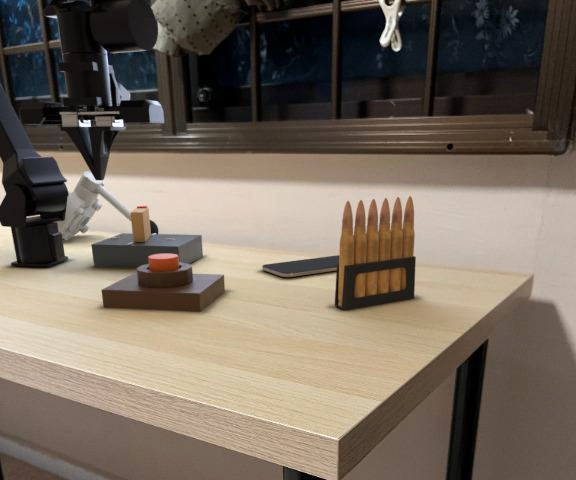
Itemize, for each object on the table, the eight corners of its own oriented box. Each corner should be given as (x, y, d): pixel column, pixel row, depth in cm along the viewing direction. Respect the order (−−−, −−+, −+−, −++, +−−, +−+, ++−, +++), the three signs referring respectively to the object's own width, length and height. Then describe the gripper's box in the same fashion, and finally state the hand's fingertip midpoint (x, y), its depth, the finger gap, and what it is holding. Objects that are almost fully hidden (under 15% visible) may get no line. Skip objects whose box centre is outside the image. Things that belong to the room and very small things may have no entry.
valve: (110, 293, 117) (148, 236, 110) (28, 224, 115) (61, 160, 108) (136, 278, 126) (172, 224, 118) (60, 213, 124) (93, 153, 116)
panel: (94, 267, 94) (90, 243, 93) (124, 254, 104) (122, 232, 103) (180, 269, 92) (178, 245, 90) (203, 256, 102) (201, 233, 100)
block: (145, 242, 94) (142, 210, 92) (133, 242, 94) (130, 210, 92) (151, 235, 100) (148, 205, 98) (140, 235, 100) (137, 205, 98)
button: (144, 273, 73) (143, 258, 72) (156, 267, 76) (154, 253, 75) (173, 274, 72) (172, 259, 71) (183, 267, 75) (182, 253, 75)
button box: (103, 307, 72) (99, 274, 70) (138, 288, 81) (135, 258, 80) (200, 312, 70) (198, 277, 68) (225, 291, 79) (223, 260, 77)
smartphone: (369, 262, 92) (285, 273, 84) (369, 266, 92) (285, 278, 85) (340, 254, 98) (259, 264, 90) (340, 259, 98) (259, 269, 90)
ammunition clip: (343, 310, 70) (345, 202, 65) (334, 306, 72) (336, 200, 67) (414, 297, 75) (421, 196, 70) (404, 294, 76) (411, 195, 72)
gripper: (173, 59, 86) (182, 176, 92) (53, 63, 89) (68, 176, 95) (141, 50, 76) (153, 182, 82) (6, 55, 79) (27, 181, 85)
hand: (99, 180), depth 86 cm, fingers closed
